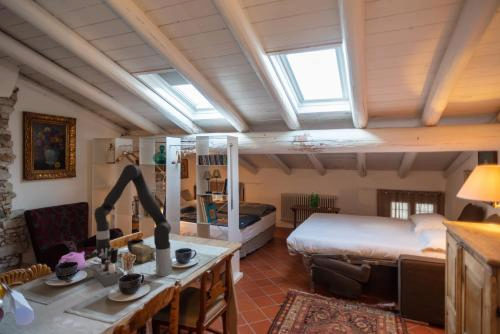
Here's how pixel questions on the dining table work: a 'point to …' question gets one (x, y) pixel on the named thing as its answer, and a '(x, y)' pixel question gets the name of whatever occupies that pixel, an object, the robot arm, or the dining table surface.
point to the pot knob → (107, 265)
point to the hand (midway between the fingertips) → (103, 264)
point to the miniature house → (143, 253)
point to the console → (107, 276)
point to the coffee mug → (113, 255)
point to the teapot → (74, 259)
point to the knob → (111, 269)
